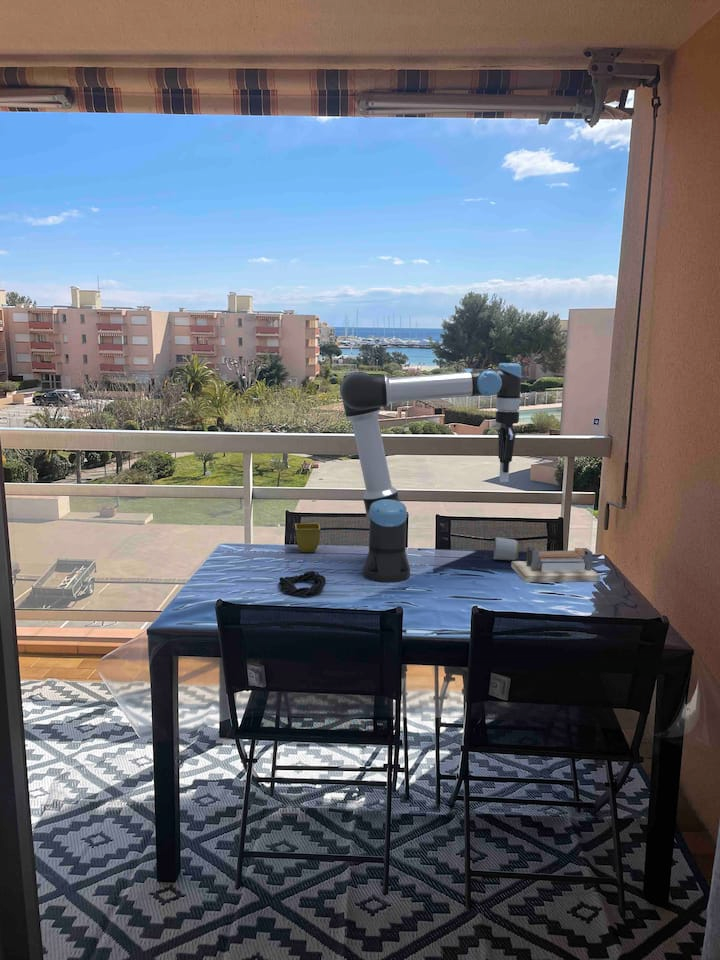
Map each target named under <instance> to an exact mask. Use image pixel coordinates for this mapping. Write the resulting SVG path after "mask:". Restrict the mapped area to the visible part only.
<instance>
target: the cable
mask: <svg viewBox="0 0 720 960" xmlns="http://www.w3.org/2000/svg"><path fill="white" fill-rule="evenodd" d="M326 579H327V578H326V577H325V576H324V575H322V574H320V573H319V572H316V571H314V570H310V571H306V572H303V574H302V573H299V574H297V575H295V576H294V575H293V576H285V577H282V576H281V577H279V582H278V586H279V585H280V586H279V588H280V591H281V592H285V593H286V594H287V595H288V594H289V595H292V596H296V597H300V598H303V597H304V596H305V597H311V596H312V597H313V596H316V595H318V594H319V593H320V592H321V591H322V590H323V589H324V587H325V585H326V582H327V580H326ZM310 581H312V582H313V584H312V586H310V587H308V586H306V587H300V588H297V587H296V585H295V584H294V583H299V582H310Z"/></svg>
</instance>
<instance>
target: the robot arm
mask: <svg viewBox="0 0 720 960" xmlns="http://www.w3.org/2000/svg"><path fill="white" fill-rule="evenodd" d="M522 379H523V378H522V365H521V364H520V363H511V362H500V363H499V364H498V367H497V368H493V369H491V368H463V370H461V372H453V373H451V372H450V373H448V372H447V373H435V374H426V375H423V374H422V375H411V376H400V377H398V376H397V377H388V376H387V375H385V374H383V375H382V374H381V375H373V374H372V375H371V374H369V373H367V372H365V371H364V372H363V371H354V372H350V373H348V374H346V376H345V377H343V378H342V381H341V383H340V386H339V394H340V397H341V401H342V405H343V409H344V414H345V417H346V419H348V420H349V421H351V424H352V428H353V429H352V430H353V435H354V440H355V444H356V448H357V453H358V458H359V462H360V463H359V464H360V467H361V472H362V478H363V482H364V485H365V486H364V488H365V493H364V494H363V495H362V500H363V504H364V509H365V517H366V520H367V522H368V527H369V530H368V531H369V533H368V534H369V535H368V553H367V556H366V558H365V561H364V564H363V567H362V575H363V577H365V578H366V579H368V580H372V581H376V582H385V583H389V582H390V583H391V582H392V583H394V582H401V581H404V580H407V579H409V578H410V577H411V567H410V564H409V563H410V562H409V560H408V556H407V554H406V545H407V544H406V543H407V541H406V540H407V518H408V512H407V507H406V505H405V503H403V502H402V501H400V497H399V493H398V489H397V488H395V487H394V486H392V481H391V476H390V471H389V468H388V467H389V466H388V462H387V457H386V451H385V447H384V441H383V438H382V437H383V436H382V432H381V427H380V422H379V418H378V416H379V413H380V412H381V410H382V409H381V408H384V407H388V406H389V405H390V404H391V403H403V402H404V403H405V402H415V401H416V402H417V401H427V400H428V401H429V400H437V399H438V400H439V399H450V398H462V397H475V396H476V397H478V396H486V397H489V396H494V395H496V401H495V409H496V410H497V411H496V412H495V422H496V423H497V424H500V427H499V429H498V430H497V435H498V436H497V437H498V438H497V439H498V446H497V447H498V450H497V451H498V459H499V480H498V481H499V482H500V483H508V482H509V476H510V462H512V461H513V454H514V445H515V439H516V437H517V436H516V434H515V429H514V425H515V424H518V423H519V422H520V412H519V410H520V404H522V400H521V386H522Z"/></svg>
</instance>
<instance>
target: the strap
mask: <svg viewBox="0 0 720 960" xmlns="http://www.w3.org/2000/svg"><path fill="white" fill-rule="evenodd" d="M538 551H539V550H538ZM584 553H585V551H584V550H583V549H582V547H574V550H572V549H571V550H545V551H544V550H542V551H541V550H540V551H539V557H574V556H580V557H581V556H584ZM530 554H531V555H532V551H531V552H530Z"/></svg>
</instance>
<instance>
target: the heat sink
mask: <svg viewBox="0 0 720 960" xmlns="http://www.w3.org/2000/svg"><path fill="white" fill-rule="evenodd" d="M581 549H583V550H584V551H585V553H584V556H574V557H539V550H535V546H532V545H531V546H527V548H526V560H525V561H526V566H531V571H538V570H539V571H540V572H541V573H584V571H585V570H591V569H592V563H593V552H592V551H591V550H590V549H589V548H587V547H586V548H585V547H583V548H582V547H581ZM531 551H532V555H531V554H530V552H531Z"/></svg>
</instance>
